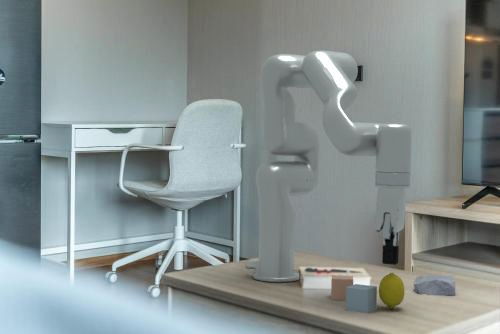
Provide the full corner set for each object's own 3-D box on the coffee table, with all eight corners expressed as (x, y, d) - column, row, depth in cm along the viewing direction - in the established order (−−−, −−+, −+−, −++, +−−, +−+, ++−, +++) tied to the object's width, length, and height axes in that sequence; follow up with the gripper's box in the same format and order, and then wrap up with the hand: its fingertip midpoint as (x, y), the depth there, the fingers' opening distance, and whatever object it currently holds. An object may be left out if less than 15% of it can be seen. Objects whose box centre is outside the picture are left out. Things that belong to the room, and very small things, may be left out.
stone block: (417, 302, 178) (459, 296, 176) (413, 283, 178) (455, 276, 177) (415, 295, 190) (454, 288, 188) (411, 276, 190) (450, 270, 188)
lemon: (388, 312, 158) (388, 275, 158) (373, 307, 163) (374, 271, 163) (409, 310, 160) (410, 273, 160) (394, 305, 165) (395, 270, 165)
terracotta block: (331, 300, 171) (331, 278, 171) (331, 296, 176) (331, 275, 176) (353, 301, 170) (353, 279, 170) (352, 296, 175) (352, 275, 175)
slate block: (346, 310, 160) (346, 287, 160) (355, 306, 165) (355, 284, 165) (367, 313, 158) (367, 289, 158) (376, 309, 162) (376, 286, 162)
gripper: (382, 178, 169) (380, 257, 170) (367, 181, 156) (365, 267, 156) (415, 179, 167) (413, 260, 167) (403, 182, 153) (401, 270, 154)
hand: (390, 263), depth 162 cm, fingers closed
